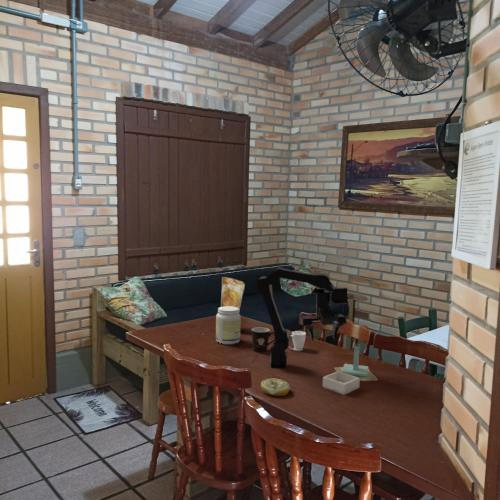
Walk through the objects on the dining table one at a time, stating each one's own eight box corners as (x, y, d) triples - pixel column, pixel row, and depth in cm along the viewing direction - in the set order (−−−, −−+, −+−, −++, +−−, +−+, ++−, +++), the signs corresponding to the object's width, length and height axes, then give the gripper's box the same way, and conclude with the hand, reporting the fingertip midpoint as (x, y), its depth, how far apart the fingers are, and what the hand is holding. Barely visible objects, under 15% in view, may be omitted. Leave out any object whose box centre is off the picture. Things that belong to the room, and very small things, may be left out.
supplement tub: (244, 340, 243) (245, 308, 241) (230, 346, 233) (231, 312, 231) (224, 336, 250) (225, 304, 248) (210, 342, 239) (211, 308, 238)
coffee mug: (248, 351, 226) (248, 330, 225) (254, 346, 234) (255, 326, 233) (271, 355, 222) (272, 334, 221) (277, 350, 230) (278, 329, 229)
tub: (322, 387, 185) (322, 377, 185) (337, 380, 193) (338, 371, 192) (344, 395, 178) (345, 384, 178) (359, 388, 186) (359, 378, 185)
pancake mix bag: (225, 324, 273) (226, 275, 270) (244, 332, 257) (246, 281, 254) (215, 326, 269) (216, 276, 266) (234, 334, 254) (235, 282, 251)
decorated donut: (272, 400, 173) (272, 389, 172) (255, 389, 182) (255, 380, 181) (294, 393, 179) (295, 384, 178) (277, 384, 188) (277, 374, 187)
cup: (308, 350, 230) (309, 334, 229) (289, 352, 226) (290, 336, 225) (301, 346, 236) (301, 330, 236) (283, 348, 232) (283, 332, 232)
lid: (342, 375, 196) (343, 347, 195) (344, 367, 206) (345, 340, 205) (367, 378, 194) (369, 350, 193) (368, 370, 203) (369, 343, 202)
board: (343, 380, 192) (343, 379, 192) (334, 368, 206) (334, 367, 206) (377, 380, 194) (377, 379, 194) (366, 368, 208) (366, 367, 207)
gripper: (306, 308, 193) (306, 346, 194) (351, 306, 195) (351, 344, 197) (299, 303, 204) (300, 339, 205) (342, 301, 206) (342, 336, 208)
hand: (323, 339), depth 204 cm, fingers open, 9 cm apart
